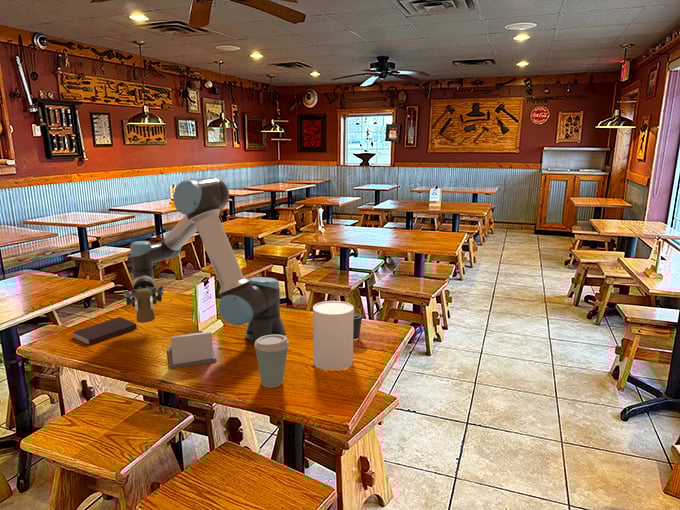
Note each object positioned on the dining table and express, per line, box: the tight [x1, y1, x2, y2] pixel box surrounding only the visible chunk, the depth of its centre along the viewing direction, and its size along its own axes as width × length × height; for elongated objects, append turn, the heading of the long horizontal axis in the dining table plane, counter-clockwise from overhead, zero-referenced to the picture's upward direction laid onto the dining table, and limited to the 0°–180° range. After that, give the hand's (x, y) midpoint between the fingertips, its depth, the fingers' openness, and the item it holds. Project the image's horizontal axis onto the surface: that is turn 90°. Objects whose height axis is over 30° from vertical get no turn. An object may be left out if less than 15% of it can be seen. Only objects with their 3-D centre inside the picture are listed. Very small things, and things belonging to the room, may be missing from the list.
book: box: [72, 316, 138, 346], centre depth 182 cm, size 12×19×3 cm, turn 146°
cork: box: [135, 288, 156, 324], centre depth 159 cm, size 6×6×11 cm
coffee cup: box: [353, 312, 364, 339], centre depth 177 cm, size 8×8×10 cm
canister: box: [312, 300, 355, 370], centre depth 156 cm, size 14×14×20 cm
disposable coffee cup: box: [254, 334, 290, 389], centre depth 143 cm, size 11×11×15 cm
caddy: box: [167, 330, 217, 370], centre depth 162 cm, size 16×15×10 cm
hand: (144, 306), depth 154 cm, fingers closed on cork, 4 cm apart
